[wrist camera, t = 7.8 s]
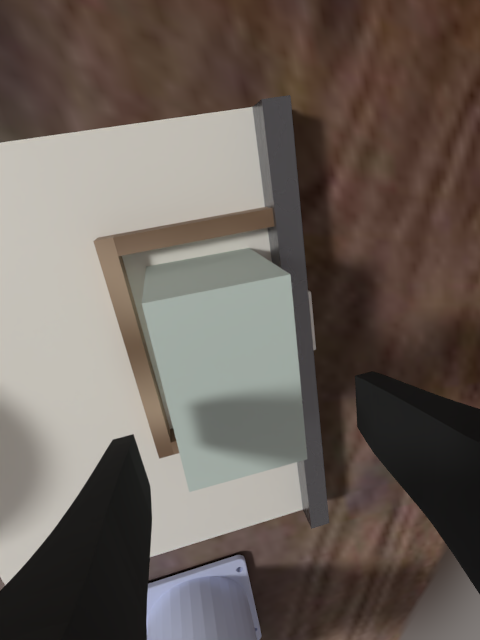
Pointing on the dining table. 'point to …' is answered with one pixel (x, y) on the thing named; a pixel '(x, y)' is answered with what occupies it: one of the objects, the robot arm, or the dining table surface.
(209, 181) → the white square tray
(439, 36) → the dining table surface
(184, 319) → the carton
